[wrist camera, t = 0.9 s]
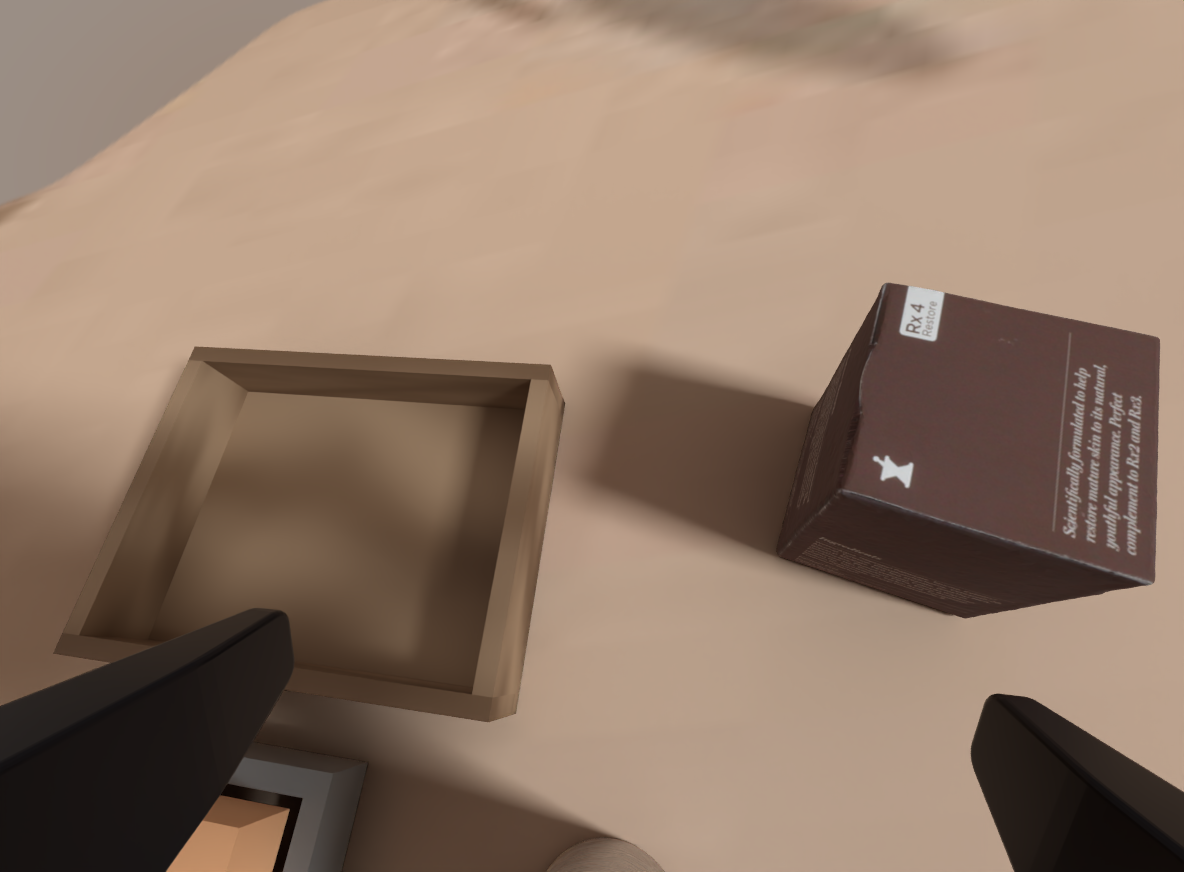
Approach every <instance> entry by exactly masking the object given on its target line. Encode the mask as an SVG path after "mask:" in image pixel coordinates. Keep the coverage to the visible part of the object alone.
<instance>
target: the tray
mask: <svg viewBox="0 0 1184 872" xmlns="http://www.w3.org/2000/svg"><path fill="white" fill-rule="evenodd" d="M564 406H565V402H564V400H563V397H562V394H561V391H560V389H559V386H558V383H557V380H556V378H555V375H554V372H553V369H552V367H551V365H543V364H524V363H504V362H485V361H465V360H446V359H426V358H407V357H387V356H368V355H348V354H329V353H309V352H290V351H270V350H251V349H231V348H212V347H195V348H194V350H193V352H192V354H191V356H190V358H189V361H188V363H187V365H186V367H185V369H184V371H183V373H182V376H181V378H180V380H179V382H178V384H177V386H176V389H175V391H174V393H173V395H172V397H171V399H170V402H169V404H168V406H167V408H166V410H165V412H164V415H163V417H162V419H161V421H160V423H159V425H158V428H157V430H156V432H155V434H154V436H153V438H152V441H151V443H150V445H149V447H148V449H147V451H146V454H145V456H144V458H143V460H142V462H141V464H140V467H139V469H138V471H137V473H136V475H135V477H134V480H133V482H132V484H131V486H130V488H129V490H128V493H127V495H126V497H125V499H124V501H123V503H122V506H121V508H120V510H119V512H118V514H117V516H116V519H115V521H114V523H113V525H112V527H111V529H110V532H109V534H108V536H107V538H106V540H105V542H104V545H103V547H102V549H101V551H100V553H99V555H98V558H97V560H96V562H95V564H94V566H93V568H92V571H91V573H90V575H89V577H88V579H87V581H86V584H85V586H84V588H83V590H82V592H81V594H80V597H79V599H78V601H77V603H76V605H75V607H74V610H73V612H72V614H71V616H70V618H69V620H68V623H67V625H66V627H65V629H64V631H63V633H62V635H61V638H60V640H59V642H58V644H57V646H56V648H55V651H54V653H53V654H60V655H66V656H72V657H79V658H85V659H91V660H98V661H104V662H110V663H112V662H115V661H117V660H120V659H122V658H125V657H128V656H130V655H133V654H135V653H138V652H140V651H143V650H146V649H148V648H151V647H153V646H156V645H158V644H161V643H164V642H166V641H169V640H171V639H174V638H176V637H179V636H182V635H184V634H187V633H189V632H192V631H194V630H197V629H200V628H202V627H205V626H207V625H210V624H212V623H215V622H218V621H220V620H223V619H225V618H228V617H230V616H233V615H236V614H238V613H241V612H243V611H246V610H248V609H251V608H267V609H276V610H281V611H283V612H285V613H286V614H287V616H288V618H289V622H290V629H291V637H292V644H293V651H294V659H295V662H294V669H293V673H292V676H291V678H290V680H289V682H288V684H287V685H286V687H285V689H284V690H288V691H294V692H300V693H307V694H313V695H319V696H326V697H332V698H338V699H345V700H351V701H357V702H364V703H370V704H376V705H383V706H389V707H395V708H402V709H408V710H414V711H421V712H427V713H433V714H440V715H446V716H452V717H459V718H465V719H471V720H478V721H484V722H491V721H494V720H497V719H500V718H503V717H506V716H509V715H513V714H516V709H517V702H518V696H519V690H520V684H521V677H522V671H523V665H524V658H525V652H526V646H527V639H528V633H529V627H530V621H531V614H532V608H533V602H534V595H535V589H536V583H537V576H538V570H539V564H540V558H541V551H542V545H543V539H544V532H545V526H546V520H547V514H548V507H549V501H550V495H551V488H552V482H553V476H554V469H555V463H556V457H557V451H558V444H559V438H560V432H561V425H562V419H563V413H564Z"/></svg>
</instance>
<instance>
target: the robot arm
mask: <svg viewBox="0 0 1184 872" xmlns="http://www.w3.org/2000/svg"><path fill="white" fill-rule="evenodd" d="M294 662H295V659H294V651H293V644H292V637H291V629H290V622H289V618H288V616H287V614H286V613H285V612H283V611H281V610H276V609H267V608H251V609H248V610H246V611H243V612H241V613H238V614H236V615H233V616H230V617H228V618H225V619H223V620H220V621H218V622H215V623H212V624H210V625H207V626H205V627H202V628H200V629H197V630H194V631H192V632H189V633H187V634H184V635H182V636H179V637H176V638H174V639H171V640H169V641H166V642H164V643H161V644H158V645H156V646H153V647H151V648H148V649H146V650H143V651H140V652H138V653H135V654H133V655H130V656H128V657H125V658H122V659H120V660H117V661H115V662H112V663H110V664H107V665H104V666H102V667H99V668H97V669H94V670H92V671H89V672H86V673H84V674H81V675H79V676H76V677H74V678H71V679H68V680H66V681H63V682H61V683H58V684H56V685H53V686H50V687H48V688H45V689H43V690H40V691H38V692H35V693H32V694H30V695H27V696H25V697H22V698H20V699H17V700H14V701H12V702H9V703H7V704H4V705H2V706H0V872H166V871H167V870H168V868H169V867H170V865H171V864H172V863H173V861H174V860H175V858H176V857H177V856H178V854H179V853H180V851H181V850H182V849H183V847H184V846H185V844H186V843H187V842H188V840H189V839H190V837H191V836H192V835H193V833H194V832H195V830H196V829H197V828H198V826H199V825H200V823H201V822H202V821H203V819H204V818H205V816H206V815H207V814H208V812H209V811H210V809H211V808H212V806H213V805H214V803H215V802H216V800H217V799H218V798H219V796H220V795H221V793H222V792H223V790H224V788H225V787H226V785H227V784H228V782H229V781H230V779H231V777H232V776H233V774H234V773H235V771H236V769H237V768H238V766H239V764H240V763H241V761H242V759H243V758H244V756H245V754H246V753H247V751H248V749H249V747H250V746H251V744H252V742H253V741H254V739H255V737H256V736H257V734H258V732H259V731H260V729H261V727H262V726H263V724H264V722H265V721H266V719H267V717H268V716H269V714H270V712H271V711H272V709H273V707H274V706H275V704H276V702H277V701H278V699H279V697H280V696H281V694H282V692H283V691H284V689H285V687H286V685H287V684H288V682H289V680H290V678H291V676H292V673H293V669H294ZM971 761H972V765H973V769H974V772H975V774H976V777H977V779H978V782H979V784H980V787H981V789H982V792H983V794H984V797H985V799H986V802H987V804H988V807H989V809H990V812H991V814H992V817H993V819H994V822H995V825H996V827H997V830H998V832H999V835H1000V837H1001V840H1002V842H1003V845H1004V847H1005V850H1006V852H1007V855H1008V857H1009V860H1010V862H1011V865H1012V867H1013V870H1014V872H1184V792H1183V791H1181V790H1180V789H1178V788H1176V787H1175V786H1173V785H1172V784H1170V783H1168V782H1167V781H1165V780H1163V779H1162V778H1160V777H1159V776H1157V775H1155V774H1154V773H1152V772H1150V771H1149V770H1147V769H1146V768H1144V767H1142V766H1141V765H1139V764H1138V763H1136V762H1134V761H1133V760H1131V759H1129V758H1128V757H1126V756H1125V755H1123V754H1121V753H1120V752H1118V751H1116V750H1115V749H1113V748H1112V747H1110V746H1108V745H1107V744H1105V743H1104V742H1102V741H1100V740H1099V739H1097V738H1095V737H1094V736H1092V735H1091V734H1089V733H1087V732H1086V731H1084V730H1082V729H1081V728H1079V727H1078V726H1076V725H1074V724H1073V723H1071V722H1069V721H1068V720H1066V719H1065V718H1063V717H1061V716H1060V715H1058V714H1057V713H1055V712H1053V711H1052V710H1050V709H1048V708H1047V707H1045V706H1044V705H1042V704H1040V703H1039V702H1037V701H1035V700H1033V699H1031V698H1028V697H1023V696H1014V695H1005V694H993V695H991V696H989V697H988V698H987V699H986V701H985V703H984V706H983V709H982V713H981V716H980V719H979V722H978V725H977V729H976V732H975V735H974V738H973V741H972V745H971Z"/></svg>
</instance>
